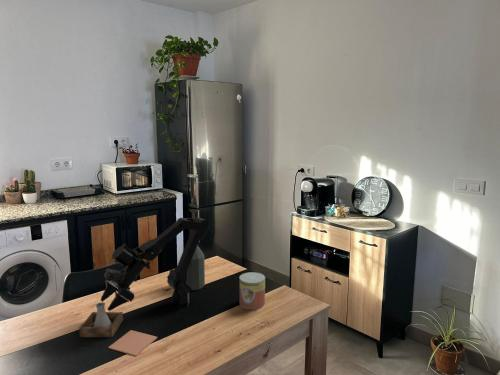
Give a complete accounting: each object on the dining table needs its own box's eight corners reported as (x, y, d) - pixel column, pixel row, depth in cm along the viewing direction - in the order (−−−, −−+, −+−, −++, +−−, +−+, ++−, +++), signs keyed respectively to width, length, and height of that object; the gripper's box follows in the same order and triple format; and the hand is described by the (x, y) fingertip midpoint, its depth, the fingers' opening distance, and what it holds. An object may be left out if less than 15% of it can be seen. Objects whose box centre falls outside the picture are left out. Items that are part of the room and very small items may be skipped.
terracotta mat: (131, 331, 144) (131, 330, 144) (157, 337, 140) (157, 336, 140) (108, 348, 133) (108, 347, 133) (136, 356, 129) (136, 355, 129)
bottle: (203, 290, 179) (201, 229, 173) (182, 290, 179) (180, 229, 173) (205, 281, 189) (204, 223, 183) (186, 281, 189) (184, 223, 184)
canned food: (235, 306, 164) (235, 280, 162) (245, 295, 174) (245, 270, 172) (259, 311, 160) (259, 284, 158) (268, 299, 170) (268, 274, 168)
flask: (115, 323, 149) (113, 300, 148) (106, 334, 142) (105, 309, 141) (97, 323, 150) (96, 299, 148) (88, 333, 143) (86, 308, 141)
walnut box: (122, 320, 152) (122, 312, 152) (112, 337, 140) (111, 328, 140) (93, 320, 152) (92, 312, 152) (79, 336, 140) (79, 328, 140)
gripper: (109, 254, 153) (82, 286, 149) (124, 268, 138) (94, 305, 134) (129, 268, 159) (103, 300, 155) (146, 283, 144) (118, 319, 140)
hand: (104, 305), depth 146 cm, fingers open, 9 cm apart
